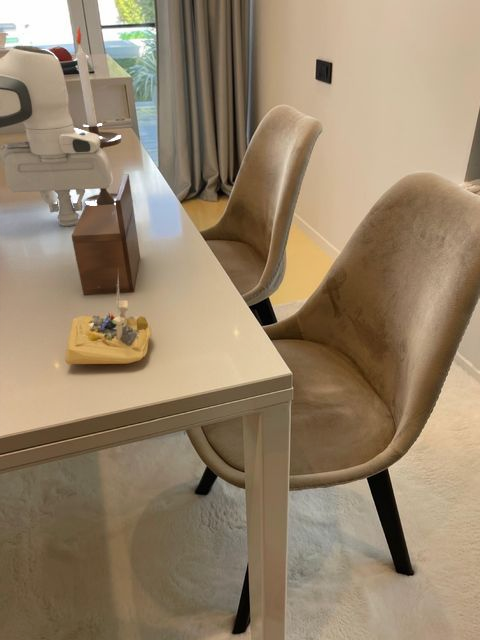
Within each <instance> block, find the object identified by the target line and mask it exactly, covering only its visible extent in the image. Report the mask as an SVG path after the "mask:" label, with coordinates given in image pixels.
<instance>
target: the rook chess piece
mask: <svg viewBox="0 0 480 640" xmlns="http://www.w3.org/2000/svg"><path fill="white" fill-rule="evenodd" d="M70 192H71V190H56V191H54V193H56V195H57V196H56V199H57V201H58V206H59V211H58V214H57V220H58V222H57V223H58V224H59V225H60V226H61V227H74V226H76V225H77V223H78V221H79V219H80V217H79V216H80V214H79V213H78V211H74V206H73V202H72V195H71V194H70Z"/></svg>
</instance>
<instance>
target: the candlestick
mask: <svg viewBox="0 0 480 640" xmlns="http://www.w3.org/2000/svg"><path fill="white" fill-rule="evenodd" d="M76 33H77V36H76V43H77V44H78V45H77V52H76V53H75V56H76V61H77V62H76V63H77V67H78V74H79V79H80V85H81V92H82V97H83V104H84V109H85V115H86V121H87V123H84V124H82V126H83V127H87V130H88V132H90V133H94V134H97V135H99V137H100V141H101V144H100V148H102V149H103V150H104V148H109V147H113V146H116V145H120V144H121V143H122V135H121V134H120V133H116V132H110V131H99V127H100V126H102V125H103V123H102V122H98V120H97V115H96V108H95V103H94V96H93V90H92V84H91V78H90V77H91V76H90V72H89V66H88V59H87V52H84V50H83V48H82V44H81V43H82V42H81V41H82V33H81V27H80V26H78V29H77V31H76ZM116 196H117V193H110V192H109V191H108V188H101V189H100V192H99V194H95V195H94V194H93V195H91V196H89V197H87V198H86V199H84V206H85V205H86V206H89V205H111V204H115V199H116Z"/></svg>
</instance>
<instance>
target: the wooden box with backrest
mask: <svg viewBox="0 0 480 640" xmlns="http://www.w3.org/2000/svg"><path fill="white" fill-rule="evenodd" d="M116 194H117V196H116V199H115V204H111V205H89V206H85V205H84V208H83V209H82V211H81V212H82V213H81V215H79V216H80V217H79V221H78V223H77V225H75V227H74V229H73V231H72V233H71V241H72V245H73V250H74V256H75V261H76V264H77V269H78V276H79V280H80V285H81V289H82V294H83V295H84V296H86V295H103V294H117V284H118V276H119V286H118V288H119V294H120V293H121V294H122V293H135V289H136V284H137V278H138V273H139V272H138V271H139V266H140V261H141V252H140V245H139V238H138V231H137V224H136V216H135V210H134V209H135V208H134V202H133V195H132V189H131V182H130V174H129V173H124V174H123V176H122V179H121V182H120V185H119V187H118V191H117V193H116ZM98 286H99V287H98Z"/></svg>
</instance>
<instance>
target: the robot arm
mask: <svg viewBox="0 0 480 640" xmlns="http://www.w3.org/2000/svg"><path fill="white" fill-rule="evenodd" d="M69 103H70V98H69V93H68V87H67V83H66V78H65V74H64V71H63V67H62V64H61V62H60V60H59V58H58V57H57V56H56V55H55V53H53V52H52V51H50V50H48V49H46V48H42V47H37V46H33V45H32V46H31V45H21V44H20V45H14V46H12V47H11V49H10V50H9V51H8V52H7V53H6V54H4V55H3V56H2V57H0V129H4V128H7V127H10V126H13V125H17V124H20V123H23V125H24V129H25V134H26V138H27V141H19V142H5V143H4V145H1V147H0V160H1V162H2V164H3V165H4V172H5V180H6V186H7V188H8V189H9V190H10V191H11V192H12V193H29V192H30V193H31V192H32V193H33V192H39V193H40V196H41V198H42V199H43V200H44V202H45V203H46V204H47V205H48V206H49V211H50V213H59V200H53V198H52V197H51V196H50V194H51V192H53V191H54V192H55V191H56V190H70V191H74V190H75V193H76V195H77V196H78V199H75V200H73V202H72V205H73V207H74V211H76V212H83V210H84V208H83V203H82V200H83V199H84V196H85V193H86V190H99V189H101V188H106V189H109V188H110V187H111V185H112V184H113V182H114V181H113V180H114V178H113V171H112V167H111V163H110V161H109V157H108V155H107V152H106V151H105V150H104V148H103V149H102V148H100V144H101V141H100V137H99V135H97V134H94V133H90V132H89V131H87V130H83V129H79V128H77V127H75V125H74V119H73V118H72V115H71V114H70V113H71V112H70V110H69V109H70V108H69Z"/></svg>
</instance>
